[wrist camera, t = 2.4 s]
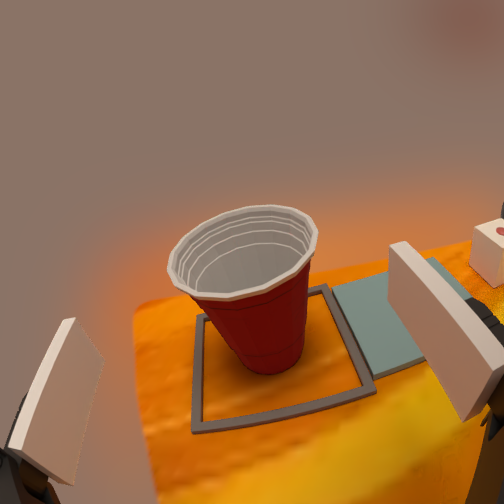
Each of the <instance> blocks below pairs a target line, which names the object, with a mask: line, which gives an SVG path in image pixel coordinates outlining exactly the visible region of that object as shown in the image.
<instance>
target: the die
mask: <svg viewBox="0 0 504 504" xmlns="http://www.w3.org/2000/svg"><path fill="white" fill-rule="evenodd" d="M469 265H470V266H471V267H472V268H473V269H474V270H475V271H476V272H477V273H478V274H479V275H480V276H481V277H482V278H483V279H484V280H485V281H486V282H488V283H489V284H490V285H491V286H492V287H493V288H496V287H498V286H500V285H502V284H504V220H503V219H502V218H500V219H497V220H493V221H491V222H487V223H484V224H481V225H478V226H475V227H474V233H473V241H472V248H471V254H470V260H469Z"/></svg>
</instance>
